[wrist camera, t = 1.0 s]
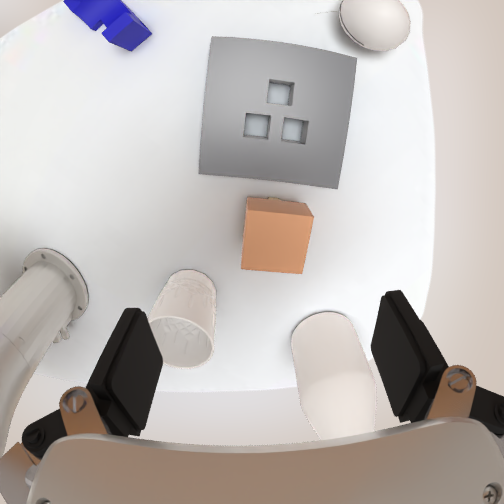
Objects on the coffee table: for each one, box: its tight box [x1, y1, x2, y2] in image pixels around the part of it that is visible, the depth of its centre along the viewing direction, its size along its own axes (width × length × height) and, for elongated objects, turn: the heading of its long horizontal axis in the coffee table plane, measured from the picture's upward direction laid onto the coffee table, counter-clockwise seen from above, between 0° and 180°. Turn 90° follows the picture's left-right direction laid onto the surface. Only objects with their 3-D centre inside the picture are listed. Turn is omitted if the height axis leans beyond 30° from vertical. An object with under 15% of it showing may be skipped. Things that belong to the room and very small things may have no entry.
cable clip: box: [63, 0, 152, 51], centre depth 19 cm, size 12×4×6 cm, turn 36°
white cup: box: [147, 270, 216, 369], centre depth 33 cm, size 8×8×10 cm
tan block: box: [241, 197, 314, 274], centre depth 30 cm, size 6×6×7 cm
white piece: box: [317, 0, 410, 51], centre depth 20 cm, size 10×7×7 cm
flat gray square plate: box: [199, 36, 357, 189], centre depth 27 cm, size 14×14×3 cm
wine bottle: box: [291, 312, 377, 440], centre depth 28 cm, size 10×10×30 cm
